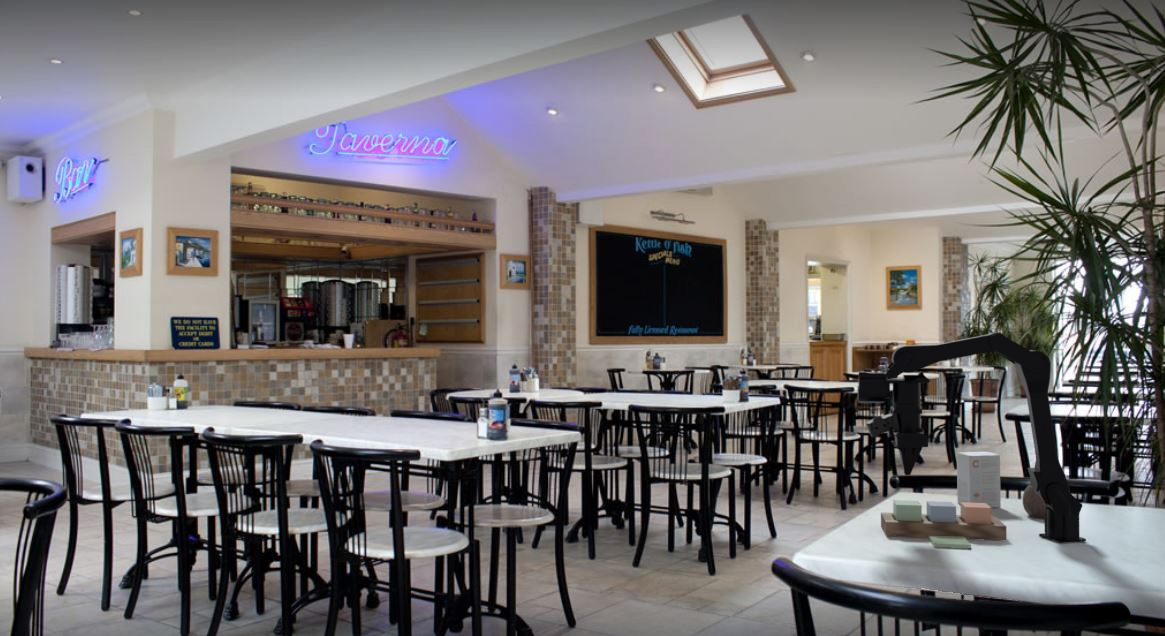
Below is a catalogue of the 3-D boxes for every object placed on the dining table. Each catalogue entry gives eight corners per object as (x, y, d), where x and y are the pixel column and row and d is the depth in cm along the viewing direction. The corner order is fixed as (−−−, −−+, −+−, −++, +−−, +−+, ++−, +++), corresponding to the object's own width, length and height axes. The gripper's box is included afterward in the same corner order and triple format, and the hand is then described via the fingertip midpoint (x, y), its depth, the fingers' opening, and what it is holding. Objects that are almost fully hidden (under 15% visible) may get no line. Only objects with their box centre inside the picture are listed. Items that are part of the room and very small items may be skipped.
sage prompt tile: (964, 540, 193) (964, 536, 193) (971, 548, 187) (971, 544, 187) (928, 539, 195) (928, 535, 195) (934, 547, 188) (934, 543, 188)
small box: (986, 502, 233) (986, 451, 233) (1001, 507, 227) (1000, 454, 227) (956, 503, 232) (956, 451, 232) (970, 508, 226) (969, 455, 226)
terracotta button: (986, 521, 201) (986, 503, 201) (991, 526, 196) (991, 507, 196) (960, 520, 202) (960, 502, 202) (965, 525, 197) (965, 507, 197)
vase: (1061, 519, 213) (1060, 481, 213) (1030, 519, 214) (1030, 481, 214) (1046, 513, 220) (1046, 476, 220) (1017, 513, 220) (1017, 476, 220)
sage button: (918, 519, 204) (918, 500, 204) (921, 524, 199) (921, 505, 199) (893, 518, 205) (893, 500, 205) (896, 523, 200) (896, 504, 200)
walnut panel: (995, 530, 203) (995, 516, 203) (1006, 540, 193) (1006, 526, 193) (880, 525, 208) (880, 512, 208) (886, 536, 198) (885, 521, 198)
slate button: (951, 520, 202) (951, 501, 202) (956, 525, 197) (956, 506, 197) (926, 519, 204) (926, 501, 204) (930, 524, 198) (930, 505, 198)
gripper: (864, 399, 213) (864, 467, 213) (872, 406, 195) (872, 481, 194) (915, 399, 210) (916, 468, 210) (928, 407, 192) (928, 482, 192)
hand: (907, 474), depth 202 cm, fingers closed
